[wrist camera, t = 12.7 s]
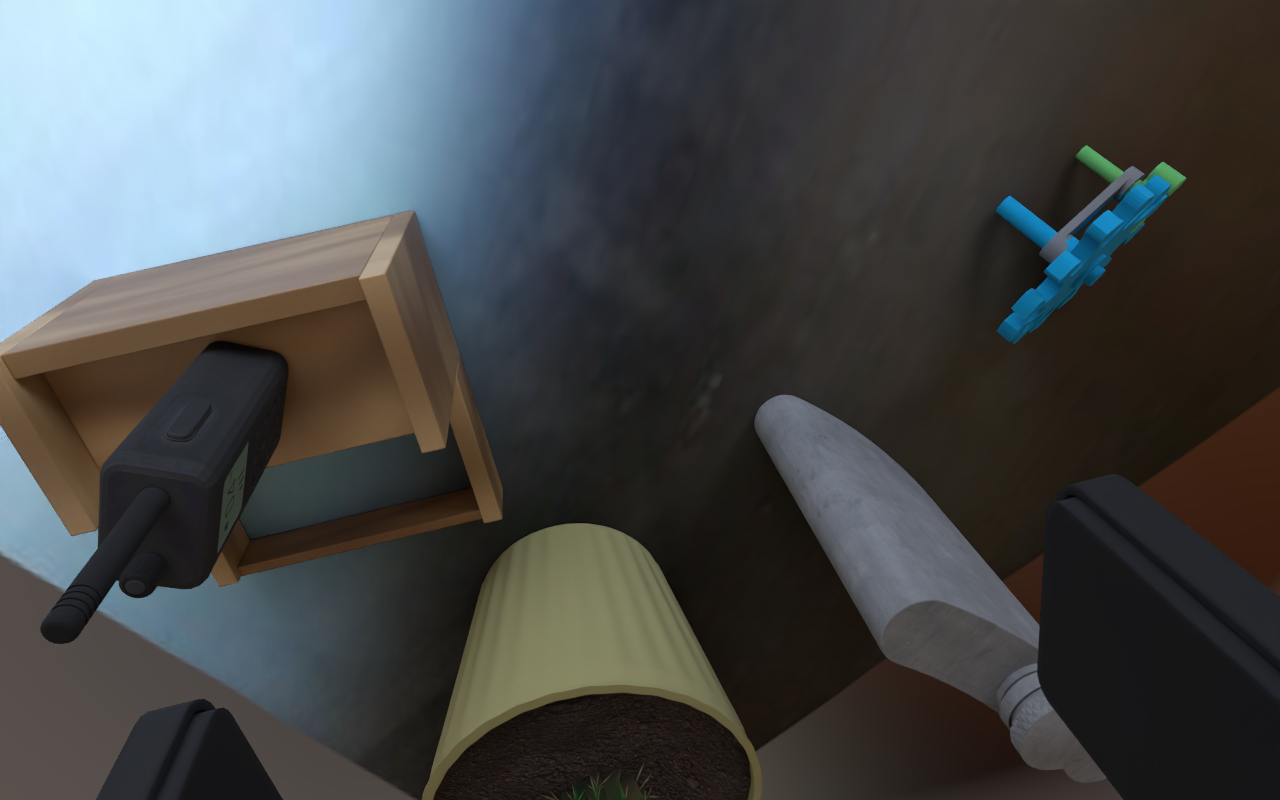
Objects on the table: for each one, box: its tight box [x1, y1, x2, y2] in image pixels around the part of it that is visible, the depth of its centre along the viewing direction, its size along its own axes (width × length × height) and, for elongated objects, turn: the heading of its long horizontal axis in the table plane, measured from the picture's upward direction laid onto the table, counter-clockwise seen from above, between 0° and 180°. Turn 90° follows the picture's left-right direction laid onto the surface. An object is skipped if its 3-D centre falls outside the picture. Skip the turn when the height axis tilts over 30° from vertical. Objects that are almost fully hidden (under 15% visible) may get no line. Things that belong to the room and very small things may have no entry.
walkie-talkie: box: [40, 341, 289, 644], centre depth 26 cm, size 5×3×15 cm
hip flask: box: [754, 395, 1107, 783], centre depth 39 cm, size 16×4×20 cm, turn 49°
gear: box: [996, 145, 1186, 344], centre depth 41 cm, size 11×6×10 cm
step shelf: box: [0, 210, 503, 587], centre depth 37 cm, size 16×15×10 cm
